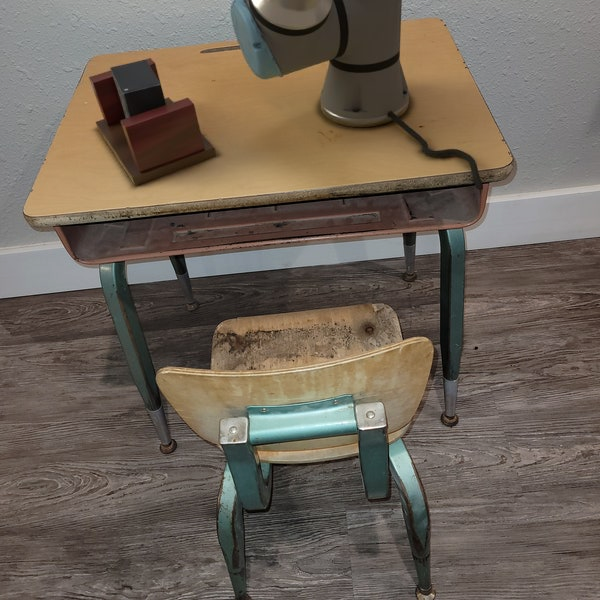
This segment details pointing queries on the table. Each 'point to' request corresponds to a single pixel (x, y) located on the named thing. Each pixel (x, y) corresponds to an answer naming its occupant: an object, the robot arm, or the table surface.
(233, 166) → the table surface
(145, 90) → the small box
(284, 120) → the table surface
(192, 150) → the book stand
